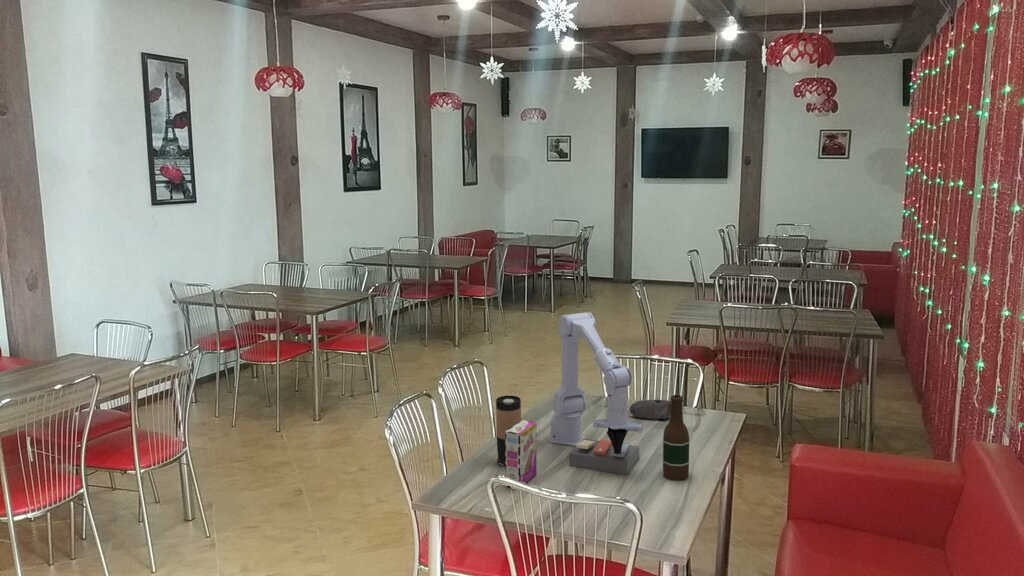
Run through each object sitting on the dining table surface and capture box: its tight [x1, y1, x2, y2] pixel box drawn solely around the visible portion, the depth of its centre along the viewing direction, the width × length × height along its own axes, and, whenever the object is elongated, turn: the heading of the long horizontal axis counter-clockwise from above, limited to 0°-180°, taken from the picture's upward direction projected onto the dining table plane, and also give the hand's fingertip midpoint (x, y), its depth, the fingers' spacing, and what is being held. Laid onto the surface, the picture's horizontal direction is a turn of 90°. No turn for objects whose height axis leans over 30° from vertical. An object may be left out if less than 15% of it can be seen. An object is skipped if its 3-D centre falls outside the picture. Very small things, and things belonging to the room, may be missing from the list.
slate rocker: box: [611, 442, 631, 457], centre depth 226 cm, size 4×7×1 cm, turn 155°
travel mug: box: [495, 395, 522, 466], centre depth 231 cm, size 8×8×20 cm
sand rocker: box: [575, 440, 595, 449], centre depth 231 cm, size 4×7×1 cm, turn 155°
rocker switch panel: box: [568, 438, 640, 476], centre depth 230 cm, size 18×13×4 cm
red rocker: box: [593, 439, 612, 456], centre depth 228 cm, size 4×7×1 cm, turn 155°
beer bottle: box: [662, 394, 690, 481], centre depth 218 cm, size 8×8×24 cm
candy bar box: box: [505, 419, 538, 484], centre depth 217 cm, size 11×5×16 cm, turn 152°
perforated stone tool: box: [628, 399, 671, 421], centre depth 267 cm, size 15×5×7 cm, turn 74°
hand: (617, 452), depth 223 cm, fingers closed, pressing on slate rocker
